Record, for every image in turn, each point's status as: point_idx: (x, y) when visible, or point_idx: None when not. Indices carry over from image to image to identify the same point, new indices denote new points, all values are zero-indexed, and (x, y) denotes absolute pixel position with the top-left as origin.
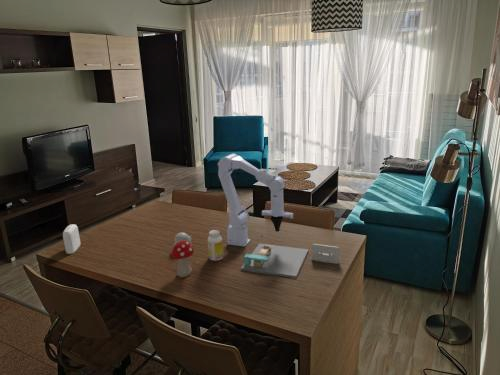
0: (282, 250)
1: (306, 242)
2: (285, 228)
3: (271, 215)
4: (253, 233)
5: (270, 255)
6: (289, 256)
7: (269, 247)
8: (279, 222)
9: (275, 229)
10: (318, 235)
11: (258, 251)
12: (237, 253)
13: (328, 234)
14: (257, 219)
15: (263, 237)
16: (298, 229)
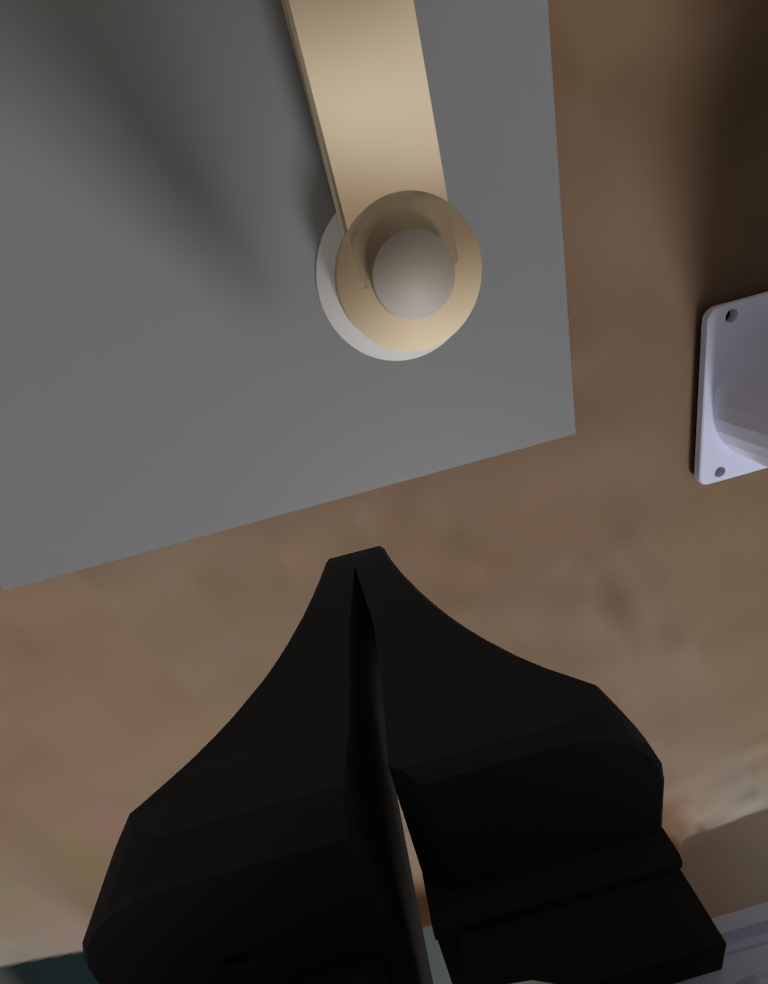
0: (241, 416)
1: (175, 709)
2: None
3: (719, 947)
4: (707, 606)
5: (291, 195)
6: (48, 307)
7: (362, 284)
8: (235, 730)
9: (383, 560)
10: None
11: (496, 225)
12: (738, 78)
13: None
14: (746, 795)
15: (591, 590)
16: None
